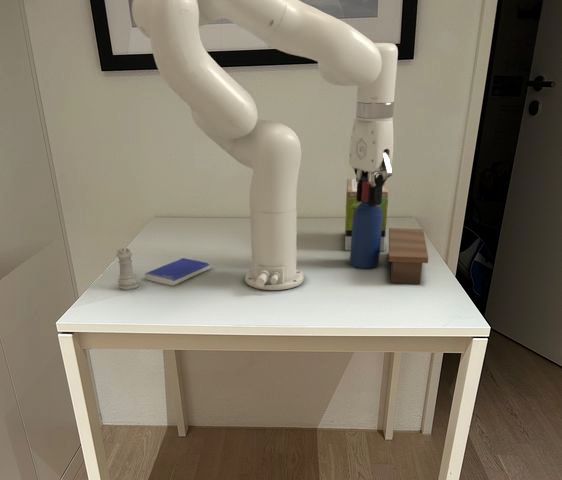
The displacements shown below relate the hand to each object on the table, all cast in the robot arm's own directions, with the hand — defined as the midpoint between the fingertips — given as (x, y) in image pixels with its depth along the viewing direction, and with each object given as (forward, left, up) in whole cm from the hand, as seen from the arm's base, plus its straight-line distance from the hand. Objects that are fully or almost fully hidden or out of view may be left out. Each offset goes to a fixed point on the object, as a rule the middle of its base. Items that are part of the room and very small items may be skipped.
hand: (368, 201), depth 128 cm
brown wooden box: (-2, -9, -14) cm, 17 cm away
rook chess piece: (-22, +49, -14) cm, 55 cm away
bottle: (0, 0, -14) cm, 14 cm away
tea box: (+17, +1, -14) cm, 22 cm away
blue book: (-13, +41, -14) cm, 45 cm away
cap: (0, 0, 0) cm, 1 cm away
